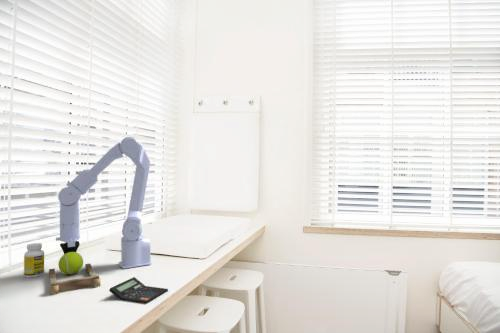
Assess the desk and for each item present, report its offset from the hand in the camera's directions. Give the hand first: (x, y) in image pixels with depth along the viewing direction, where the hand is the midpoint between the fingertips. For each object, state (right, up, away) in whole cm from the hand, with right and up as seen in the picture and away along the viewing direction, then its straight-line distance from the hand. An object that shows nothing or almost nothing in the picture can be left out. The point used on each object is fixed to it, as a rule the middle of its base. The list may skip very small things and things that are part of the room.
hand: (69, 264), depth 114 cm
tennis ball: (+2, -2, -4) cm, 5 cm away
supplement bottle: (-9, -2, -5) cm, 10 cm away
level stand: (+5, -2, -9) cm, 10 cm away
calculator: (+30, -2, -22) cm, 37 cm away
